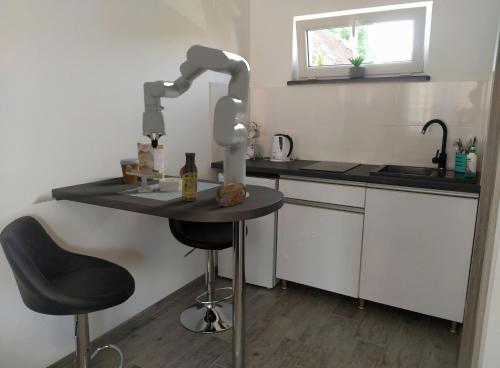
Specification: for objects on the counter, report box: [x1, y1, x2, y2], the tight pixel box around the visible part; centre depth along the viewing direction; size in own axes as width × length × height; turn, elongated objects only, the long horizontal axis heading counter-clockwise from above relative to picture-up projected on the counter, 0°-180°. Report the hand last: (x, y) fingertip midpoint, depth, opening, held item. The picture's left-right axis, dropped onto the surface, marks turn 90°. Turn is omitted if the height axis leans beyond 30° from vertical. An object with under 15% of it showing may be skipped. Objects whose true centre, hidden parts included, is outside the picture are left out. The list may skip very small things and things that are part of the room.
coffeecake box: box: [137, 141, 165, 181], centre depth 205 cm, size 15×7×20 cm, turn 50°
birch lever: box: [126, 165, 163, 180], centre depth 173 cm, size 13×16×3 cm
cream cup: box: [158, 177, 182, 192], centre depth 175 cm, size 11×11×4 cm
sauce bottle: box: [181, 151, 199, 202], centre depth 151 cm, size 6×6×20 cm
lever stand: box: [136, 174, 153, 194], centre depth 170 cm, size 9×6×8 cm, turn 21°
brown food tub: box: [119, 158, 139, 184], centre depth 190 cm, size 10×10×12 cm
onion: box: [179, 165, 199, 178], centre depth 193 cm, size 10×9×10 cm
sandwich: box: [215, 183, 247, 208], centre depth 146 cm, size 15×3×8 cm, turn 137°
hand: (154, 148), depth 177 cm, fingers closed
